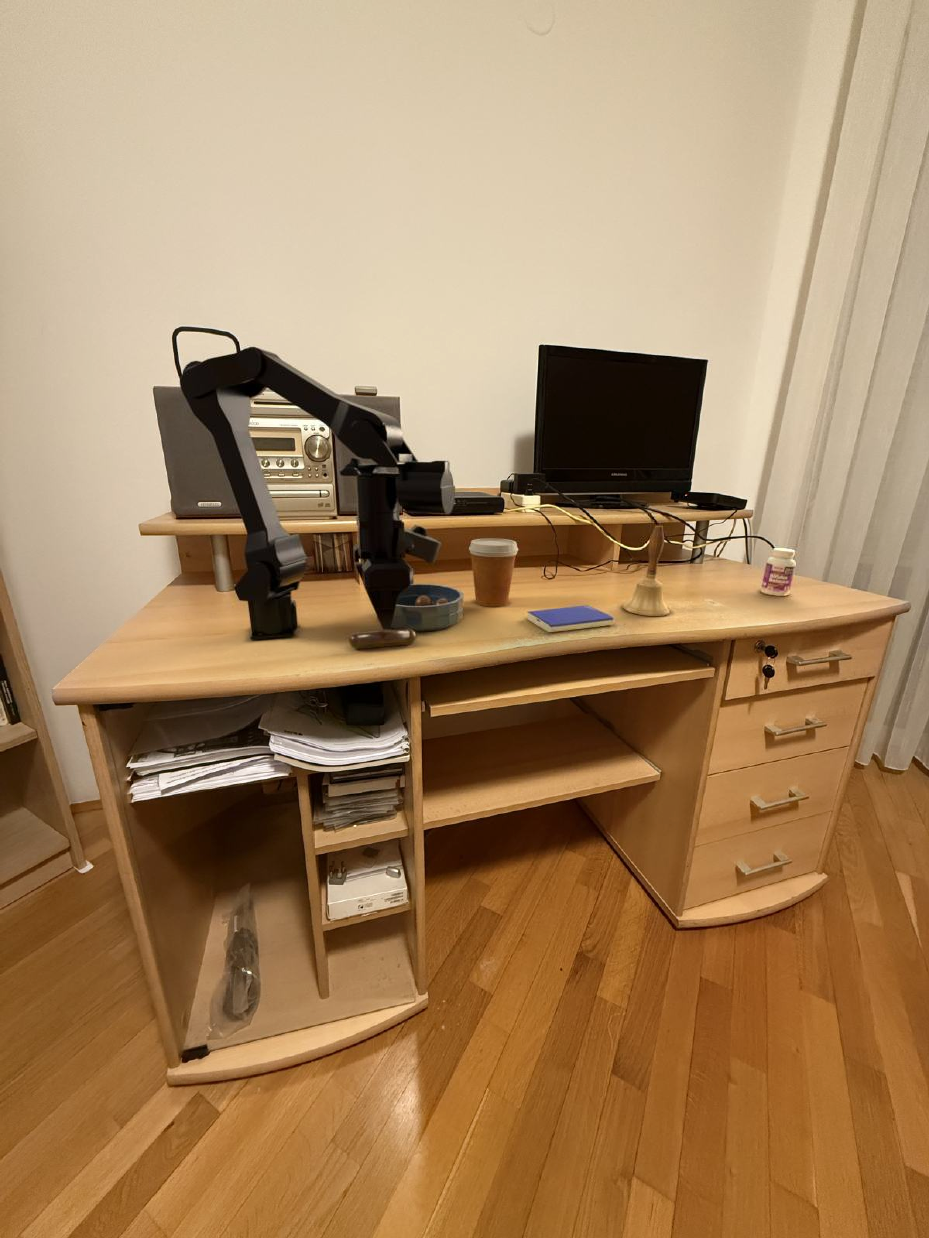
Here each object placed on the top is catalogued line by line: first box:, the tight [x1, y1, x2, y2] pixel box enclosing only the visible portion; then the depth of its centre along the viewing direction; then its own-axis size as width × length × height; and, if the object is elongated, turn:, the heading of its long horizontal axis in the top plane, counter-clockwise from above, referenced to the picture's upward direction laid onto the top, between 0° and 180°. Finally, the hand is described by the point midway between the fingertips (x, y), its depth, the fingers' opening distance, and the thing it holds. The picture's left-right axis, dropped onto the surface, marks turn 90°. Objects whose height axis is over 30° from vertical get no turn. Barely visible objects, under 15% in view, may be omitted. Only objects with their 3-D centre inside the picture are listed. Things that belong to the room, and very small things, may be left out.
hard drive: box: [526, 604, 614, 633], centre depth 86 cm, size 2×8×12 cm
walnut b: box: [435, 599, 449, 605], centre depth 85 cm, size 3×3×3 cm
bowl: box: [374, 583, 464, 632], centre depth 85 cm, size 15×15×4 cm
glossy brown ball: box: [415, 596, 432, 606], centre depth 87 cm, size 3×3×3 cm
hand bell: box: [622, 525, 670, 617], centre depth 91 cm, size 8×8×16 cm
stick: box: [348, 629, 417, 650], centre depth 73 cm, size 10×2×2 cm, turn 107°
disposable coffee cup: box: [468, 537, 520, 608], centre depth 95 cm, size 10×10×12 cm
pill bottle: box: [760, 547, 797, 597], centre depth 106 cm, size 5×5×10 cm
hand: (382, 618), depth 72 cm, fingers open, 9 cm apart
